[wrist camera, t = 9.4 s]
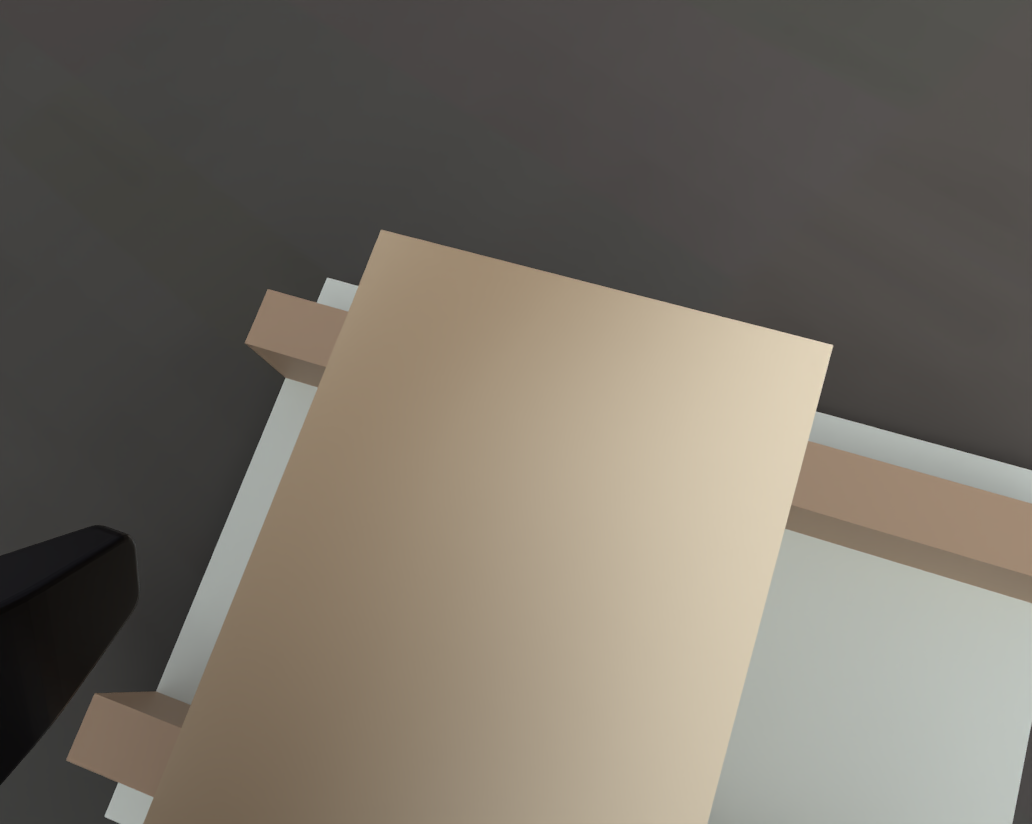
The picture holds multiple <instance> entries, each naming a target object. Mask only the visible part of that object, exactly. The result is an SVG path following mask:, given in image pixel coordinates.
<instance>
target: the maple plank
mask: <svg viewBox="0 0 1032 824" xmlns="http://www.w3.org/2000/svg"><path fill="white" fill-rule="evenodd" d="M832 348H833V345H830V344H826V343H823V342H819V341H815V340H811V339H807V338H803V337H799V336H795V335H791V334H787V333H783V332H780V331H776V330H772V329H768V328H764V327H760V326H756V325H752V324H748V323H744V322H740V321H737V320H733V319H729V318H725V317H721V316H717V315H713V314H709V313H705V312H701V311H697V310H693V309H690V308H686V307H682V306H678V305H674V304H670V303H666V302H662V301H658V300H654V299H650V298H647V297H643V296H639V295H635V294H631V293H627V292H623V291H619V290H615V289H611V288H607V287H604V286H600V285H596V284H592V283H588V282H584V281H580V280H576V279H572V278H568V277H564V276H560V275H557V274H553V273H549V272H545V271H541V270H537V269H533V268H529V267H525V266H521V265H517V264H514V263H510V262H506V261H502V260H498V259H494V258H490V257H486V256H482V255H478V254H474V253H471V252H467V251H463V250H459V249H455V248H451V247H447V246H443V245H439V244H435V243H431V242H428V241H424V240H420V239H416V238H412V237H408V236H404V235H400V234H396V233H392V232H388V231H384V230H381V231H380V234H379V236H378V239H377V241H376V244H375V246H374V249H373V251H372V254H371V256H370V259H369V261H368V264H367V266H366V269H365V271H364V274H363V276H362V279H361V281H360V284H359V286H358V289H357V291H356V294H355V296H354V299H353V301H352V304H351V306H350V309H349V311H348V314H347V316H346V319H345V321H344V324H343V326H342V329H341V331H340V334H339V336H338V339H337V341H336V344H335V346H334V349H333V351H332V354H331V356H330V359H329V361H328V364H327V366H326V369H325V371H324V374H323V376H322V379H321V381H320V384H319V386H318V388H317V391H316V393H315V396H314V398H313V401H312V403H311V406H310V408H309V411H308V413H307V416H306V418H305V421H304V423H303V426H302V428H301V431H300V433H299V436H298V438H297V441H296V443H295V446H294V448H293V451H292V453H291V456H290V458H289V461H288V463H287V466H286V468H285V471H284V473H283V476H282V478H281V481H280V483H279V486H278V488H277V491H276V493H275V496H274V498H273V501H272V503H271V506H270V508H269V511H268V513H267V516H266V518H265V521H264V523H263V526H262V528H261V531H260V533H259V536H258V538H257V541H256V543H255V546H254V548H253V551H252V553H251V556H250V558H249V561H248V563H247V566H246V568H245V571H244V573H243V576H242V578H241V581H240V583H239V586H238V588H237V591H236V593H235V596H234V598H233V601H232V603H231V606H230V608H229V611H228V613H227V616H226V618H225V621H224V623H223V626H222V628H221V631H220V633H219V636H218V638H217V641H216V643H215V645H214V648H213V650H212V653H211V655H210V658H209V660H208V663H207V665H206V668H205V670H204V673H203V675H202V678H201V680H200V683H199V685H198V688H197V690H196V693H195V695H194V698H193V700H192V703H191V705H190V708H189V710H188V713H187V715H186V718H185V720H184V723H183V725H182V728H181V730H180V733H179V735H178V738H177V740H176V743H175V745H174V748H173V750H172V753H171V755H170V758H169V760H168V763H167V765H166V768H165V770H164V773H163V775H162V778H161V780H160V783H159V785H158V788H157V790H156V793H155V795H154V798H153V800H152V803H151V805H150V808H149V810H148V813H147V815H146V818H145V820H144V823H143V824H707V823H708V819H709V816H710V812H711V808H712V804H713V800H714V797H715V793H716V789H717V785H718V781H719V778H720V774H721V770H722V766H723V762H724V759H725V755H726V751H727V747H728V743H729V740H730V736H731V732H732V728H733V724H734V721H735V717H736V713H737V709H738V705H739V702H740V698H741V694H742V690H743V686H744V683H745V679H746V675H747V671H748V667H749V664H750V660H751V656H752V652H753V648H754V645H755V641H756V637H757V633H758V629H759V626H760V622H761V618H762V614H763V610H764V607H765V603H766V599H767V595H768V591H769V587H770V584H771V580H772V576H773V572H774V568H775V565H776V561H777V557H778V553H779V549H780V546H781V542H782V538H783V534H784V530H785V527H786V523H787V519H788V515H789V511H790V508H791V504H792V500H793V496H794V492H795V489H796V485H797V481H798V477H799V473H800V470H801V466H802V462H803V458H804V454H805V451H806V447H807V443H808V439H809V435H810V432H811V428H812V424H813V420H814V416H815V413H816V409H817V405H818V401H819V397H820V394H821V390H822V386H823V382H824V378H825V375H826V371H827V367H828V363H829V359H830V356H831V352H832Z"/></svg>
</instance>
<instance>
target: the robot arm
mask: <svg viewBox="0 0 1032 824" xmlns="http://www.w3.org/2000/svg"><path fill="white" fill-rule="evenodd" d="M139 593H140V586H139V575H138V564H137V554H136V545H135V542H134V540H133V539H132V537H131V536H129V535H128V534H126V533H123V532H120V531H117V530H114V529H112V528H109V527H106V526H101V525H95V526H91V527H87V528H84V529H81V530H78V531H75V532H72V533H69V534H66V535H63V536H60V537H57V538H54V539H50V540H47V541H44V542H41V543H38V544H35V545H32V546H29V547H26V548H23V549H20V550H17V551H14V552H11V553H8V554H5V555H1V556H0V785H1V784H2V783H3V781H4V780H5V779H6V778H7V777H8V776H9V775H10V773H11V772H12V771H13V770H14V769H15V768H16V766H17V765H18V764H19V763H20V762H21V761H22V760H23V758H24V757H25V756H26V755H27V754H28V753H29V752H30V750H31V749H32V748H33V747H34V746H35V745H36V743H37V742H38V741H39V740H40V739H41V737H42V736H43V735H44V734H45V733H46V731H47V730H48V729H49V728H50V727H51V725H52V724H53V723H54V721H55V720H56V719H57V717H58V716H59V715H60V713H61V712H62V711H63V709H64V708H65V707H66V705H67V704H68V703H69V701H70V700H71V698H72V697H73V696H74V694H75V693H76V691H77V690H78V689H79V687H80V686H81V684H82V683H83V682H84V680H85V679H86V677H87V676H88V674H89V673H90V672H91V670H92V669H93V667H94V666H95V665H96V663H97V662H98V660H99V659H100V658H101V656H102V655H103V653H104V652H105V651H106V649H107V648H108V646H109V645H110V644H111V642H112V641H113V639H114V638H115V637H116V635H117V634H118V632H119V631H120V630H121V628H122V627H123V625H124V624H125V622H126V621H127V620H128V618H129V617H130V615H131V614H132V612H133V611H134V609H135V607H136V605H137V602H138V599H139Z"/></svg>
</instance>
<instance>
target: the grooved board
mask: <svg viewBox="0 0 1032 824" xmlns="http://www.w3.org/2000/svg"><path fill="white" fill-rule="evenodd" d="M357 289H358V286H356V285H352V284H349V283H345V282H341V281H338V280H334V279H331V278H327V279H326V282H325V284H324V286H323V289H322V291H321V294H320V296H319V298H318V301H317V303H316V302H312V301H309V300H305V299H301V298H298V297H294V296H291V295H287V294H284V293H280V292H277V291H273V290H269V289H268V290H267V292H266V295H265V297H264V299H263V302H262V304H261V306H260V309H259V311H258V313H257V316H256V318H255V320H254V323H253V325H252V327H251V330H250V332H249V334H248V337H247V339H246V341H245V344H247V345H248V346H249V347H250V348H251V349H252V350H254V351H255V352H256V353H257V354H258V355H259V356H261V357H262V358H263V359H264V360H265V361H267V362H268V363H269V364H270V365H271V366H272V367H274V368H275V369H276V370H277V371H278V372H279V373H281V374H282V375H283V376H284V377H285V381H284V383H283V386H282V388H281V390H280V393H279V395H278V398H277V400H276V402H275V405H274V407H273V410H272V412H271V415H270V417H269V419H268V422H267V424H266V427H265V429H264V432H263V434H262V436H261V439H260V441H259V444H258V446H257V448H256V451H255V453H254V456H253V458H252V461H251V463H250V465H249V468H248V470H247V473H246V475H245V477H244V480H243V482H242V485H241V487H240V490H239V492H238V494H237V497H236V499H235V502H234V504H233V507H232V509H231V511H230V514H229V516H228V519H227V521H226V523H225V526H224V528H223V531H222V533H221V536H220V538H219V540H218V543H217V545H216V548H215V550H214V552H213V555H212V557H211V560H210V562H209V565H208V567H207V569H206V572H205V574H204V577H203V579H202V582H201V584H200V586H199V589H198V591H197V594H196V596H195V598H194V601H193V603H192V606H191V608H190V611H189V613H188V615H187V618H186V620H185V623H184V625H183V628H182V630H181V632H180V635H179V637H178V640H177V642H176V644H175V647H174V649H173V652H172V654H171V657H170V659H169V661H168V664H167V666H166V669H165V671H164V673H163V676H162V678H161V681H160V683H159V686H158V688H157V690H156V691H151V692H120V693H95V694H94V696H93V698H92V701H91V703H90V705H89V708H88V710H87V712H86V715H85V717H84V719H83V722H82V724H81V726H80V729H79V731H78V733H77V736H76V738H75V740H74V743H73V745H72V747H71V750H70V752H69V754H68V757H67V759H66V760H67V761H69V762H71V763H74V764H76V765H78V766H81V767H83V768H85V769H88V770H90V771H93V772H95V773H97V774H100V775H102V776H104V777H107V778H109V779H111V780H114V781H116V782H118V785H117V787H116V790H115V792H114V794H113V797H112V799H111V802H110V804H109V807H108V809H107V811H106V814H105V816H104V817H106V818H108V819H111V820H113V821H115V822H118V823H120V824H143V823H144V820H145V818H146V815H147V813H148V810H149V808H150V805H151V803H152V800H153V798H154V795H155V793H156V790H157V788H158V785H159V783H160V780H161V778H162V775H163V773H164V770H165V768H166V765H167V763H168V760H169V758H170V755H171V753H172V750H173V748H174V745H175V743H176V740H177V738H178V735H179V733H180V730H181V728H182V725H183V723H184V720H185V718H186V715H187V713H188V710H189V708H190V705H191V703H192V700H193V698H194V695H195V693H196V690H197V688H198V685H199V683H200V680H201V678H202V675H203V673H204V670H205V668H206V665H207V663H208V660H209V658H210V655H211V653H212V650H213V648H214V645H215V643H216V641H217V638H218V636H219V633H220V631H221V628H222V626H223V623H224V621H225V618H226V616H227V613H228V611H229V608H230V606H231V603H232V601H233V598H234V596H235V593H236V591H237V588H238V586H239V583H240V581H241V578H242V576H243V573H244V571H245V568H246V566H247V563H248V561H249V558H250V556H251V553H252V551H253V548H254V546H255V543H256V541H257V538H258V536H259V533H260V531H261V528H262V526H263V523H264V521H265V518H266V516H267V513H268V511H269V508H270V506H271V503H272V501H273V498H274V496H275V493H276V491H277V488H278V486H279V483H280V481H281V478H282V476H283V473H284V471H285V468H286V466H287V463H288V461H289V458H290V456H291V453H292V451H293V448H294V446H295V443H296V441H297V438H298V436H299V433H300V431H301V428H302V426H303V423H304V421H305V418H306V416H307V413H308V411H309V408H310V406H311V403H312V401H313V398H314V396H315V393H316V391H317V388H318V386H319V384H320V381H321V379H322V376H323V374H324V371H325V369H326V366H327V364H328V361H329V359H330V356H331V354H332V351H333V349H334V346H335V344H336V341H337V339H338V336H339V334H340V331H341V329H342V326H343V324H344V321H345V319H346V316H347V314H348V311H349V309H350V306H351V304H352V301H353V299H354V296H355V294H356V291H357ZM1031 723H1032V470H1028V469H1025V468H1021V467H1017V466H1014V465H1010V464H1006V463H1003V462H999V461H995V460H992V459H988V458H984V457H981V456H977V455H973V454H970V453H966V452H962V451H959V450H955V449H951V448H948V447H944V446H940V445H937V444H933V443H930V442H926V441H922V440H919V439H915V438H911V437H908V436H904V435H900V434H897V433H893V432H889V431H886V430H882V429H878V428H875V427H871V426H867V425H864V424H860V423H856V422H853V421H849V420H846V419H842V418H838V417H835V416H831V415H827V414H824V413H820V412H816V413H815V416H814V420H813V424H812V428H811V432H810V435H809V439H808V443H807V447H806V451H805V454H804V458H803V462H802V466H801V470H800V473H799V477H798V481H797V485H796V489H795V492H794V496H793V500H792V504H791V508H790V511H789V515H788V519H787V523H786V527H785V530H784V534H783V538H782V542H781V546H780V549H779V553H778V557H777V561H776V565H775V568H774V572H773V576H772V580H771V584H770V587H769V591H768V595H767V599H766V603H765V607H764V610H763V614H762V618H761V622H760V626H759V629H758V633H757V637H756V641H755V645H754V648H753V652H752V656H751V660H750V664H749V667H748V671H747V675H746V679H745V683H744V686H743V690H742V694H741V698H740V702H739V705H738V709H737V713H736V717H735V721H734V724H733V728H732V732H731V736H730V740H729V743H728V747H727V751H726V755H725V759H724V762H723V766H722V770H721V774H720V778H719V781H718V785H717V789H716V793H715V797H714V800H713V804H712V808H711V812H710V816H709V819H708V823H707V824H1012V822H1013V817H1014V812H1015V807H1016V802H1017V796H1018V791H1019V786H1020V781H1021V775H1022V770H1023V765H1024V760H1025V754H1026V749H1027V744H1028V739H1029V734H1030V728H1031Z"/></svg>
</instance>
